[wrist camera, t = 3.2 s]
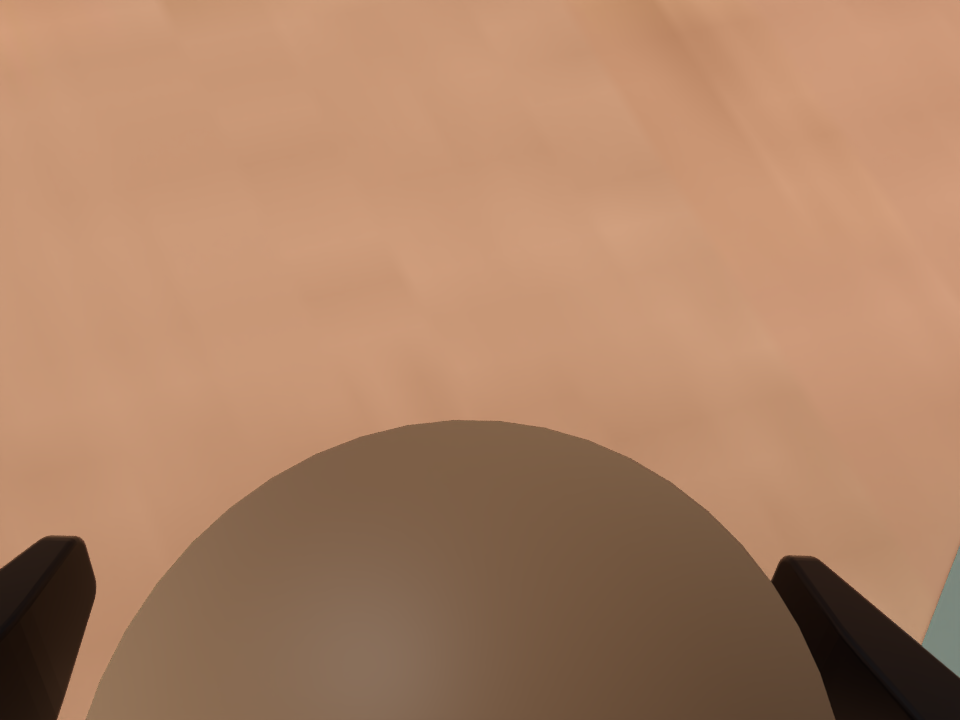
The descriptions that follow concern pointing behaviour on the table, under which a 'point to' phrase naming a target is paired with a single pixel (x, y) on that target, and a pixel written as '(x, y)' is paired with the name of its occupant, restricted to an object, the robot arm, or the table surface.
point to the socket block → (947, 622)
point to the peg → (464, 595)
